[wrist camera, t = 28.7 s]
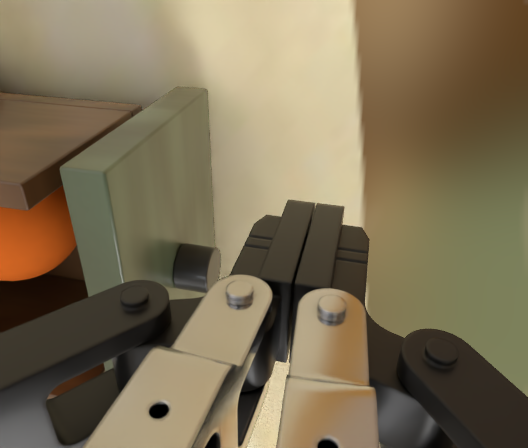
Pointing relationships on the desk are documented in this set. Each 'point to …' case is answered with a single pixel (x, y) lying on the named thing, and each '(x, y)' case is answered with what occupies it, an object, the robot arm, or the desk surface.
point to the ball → (35, 238)
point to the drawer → (111, 197)
